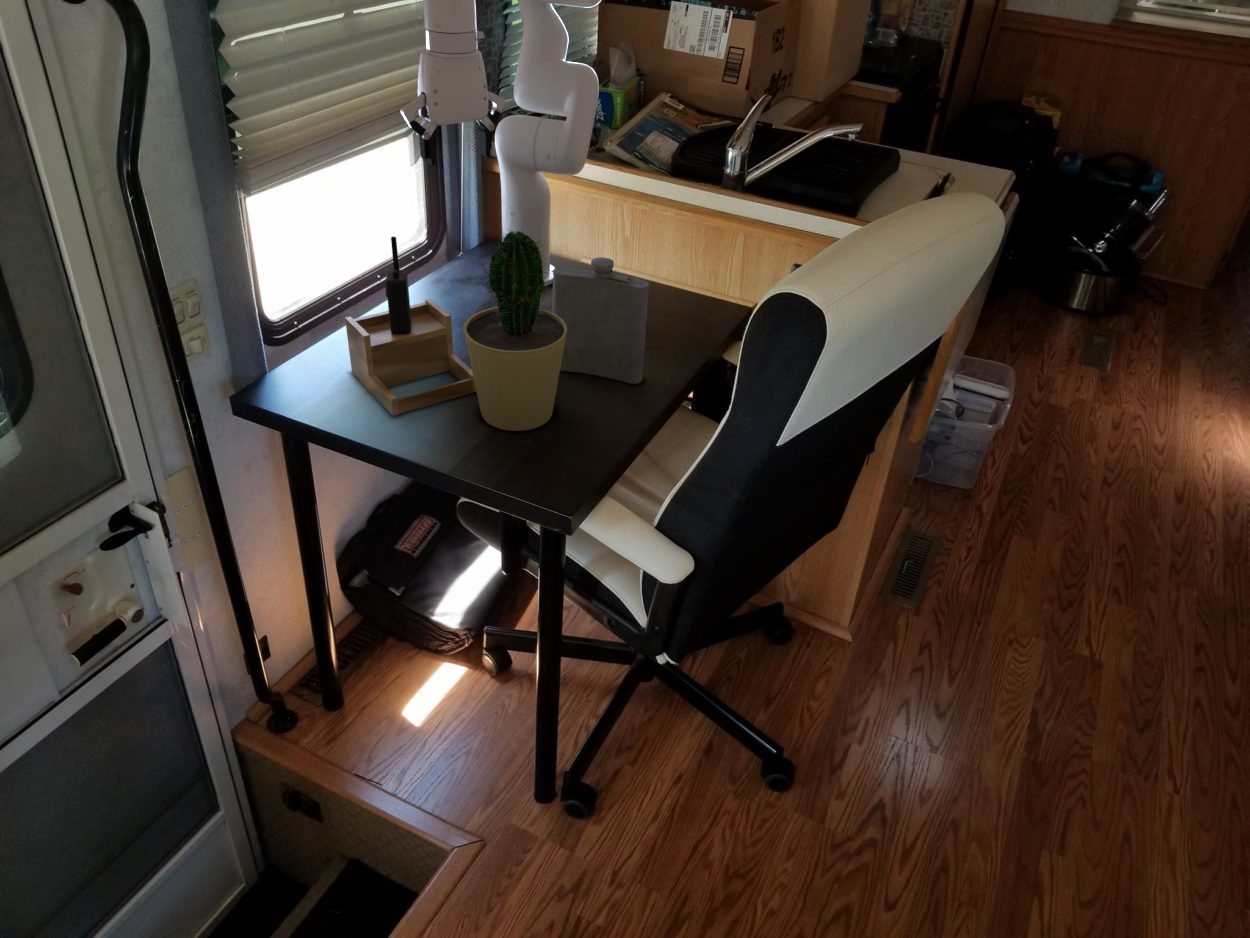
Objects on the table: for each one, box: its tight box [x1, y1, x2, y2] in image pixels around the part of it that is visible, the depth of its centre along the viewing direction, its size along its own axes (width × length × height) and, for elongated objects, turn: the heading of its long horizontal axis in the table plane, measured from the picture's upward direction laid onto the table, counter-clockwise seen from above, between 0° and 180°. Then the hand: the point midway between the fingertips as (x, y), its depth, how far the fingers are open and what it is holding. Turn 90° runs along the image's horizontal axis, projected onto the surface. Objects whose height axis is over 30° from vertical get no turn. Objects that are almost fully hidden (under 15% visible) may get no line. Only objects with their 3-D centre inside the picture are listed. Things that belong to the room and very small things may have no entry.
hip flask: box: [552, 256, 650, 385], centre depth 154 cm, size 16×4×20 cm, turn 75°
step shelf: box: [344, 298, 477, 417], centre depth 151 cm, size 16×15×10 cm
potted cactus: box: [462, 227, 567, 432], centre depth 139 cm, size 15×15×30 cm
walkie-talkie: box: [384, 236, 411, 334], centre depth 147 cm, size 5×3×15 cm
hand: (457, 158), depth 147 cm, fingers open, 9 cm apart
